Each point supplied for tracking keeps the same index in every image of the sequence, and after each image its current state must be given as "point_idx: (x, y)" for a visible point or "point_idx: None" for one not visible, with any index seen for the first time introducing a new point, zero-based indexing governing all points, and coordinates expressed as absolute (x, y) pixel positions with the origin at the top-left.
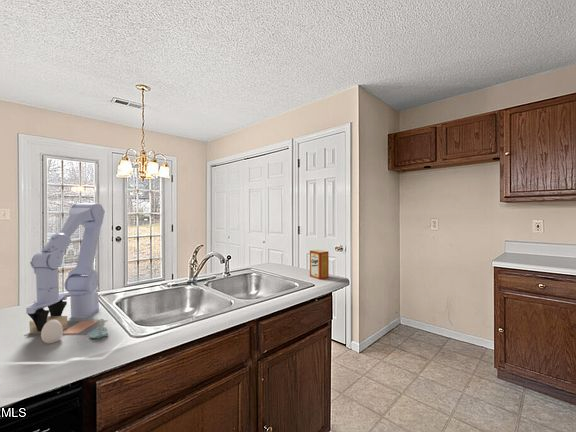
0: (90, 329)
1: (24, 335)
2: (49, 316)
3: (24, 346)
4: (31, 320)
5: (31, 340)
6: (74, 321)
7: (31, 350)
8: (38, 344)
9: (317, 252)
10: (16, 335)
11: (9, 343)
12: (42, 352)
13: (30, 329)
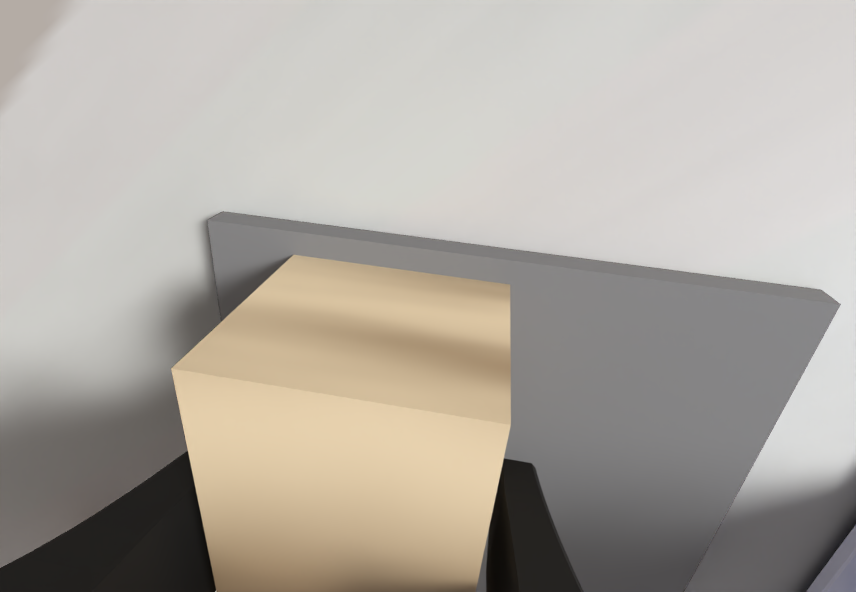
0: None
1: (214, 232)
2: (454, 584)
3: (39, 380)
4: (218, 384)
5: (164, 364)
6: (660, 581)
7: (6, 472)
8: (104, 469)
9: None
10: (288, 19)
11: (42, 156)
12: (11, 548)
13: (270, 291)
